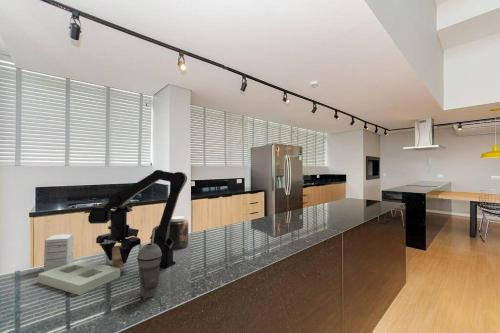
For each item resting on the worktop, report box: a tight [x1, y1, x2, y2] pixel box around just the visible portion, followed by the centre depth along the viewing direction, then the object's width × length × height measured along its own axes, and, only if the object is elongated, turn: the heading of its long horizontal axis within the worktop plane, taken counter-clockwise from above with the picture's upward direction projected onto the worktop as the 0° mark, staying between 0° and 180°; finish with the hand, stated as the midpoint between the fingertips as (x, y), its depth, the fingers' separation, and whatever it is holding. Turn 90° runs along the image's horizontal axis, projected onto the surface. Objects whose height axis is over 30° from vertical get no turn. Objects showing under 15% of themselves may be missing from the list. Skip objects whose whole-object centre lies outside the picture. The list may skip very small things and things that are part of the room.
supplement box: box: [43, 233, 75, 272], centre depth 91 cm, size 7×7×13 cm
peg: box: [111, 244, 124, 269], centre depth 93 cm, size 4×4×8 cm
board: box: [37, 259, 121, 296], centre depth 81 cm, size 22×14×3 cm, turn 68°
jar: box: [169, 215, 189, 251], centre depth 120 cm, size 12×12×15 cm
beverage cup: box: [136, 229, 162, 298], centre depth 72 cm, size 7×7×20 cm
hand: (117, 261), depth 93 cm, fingers open, 7 cm apart
